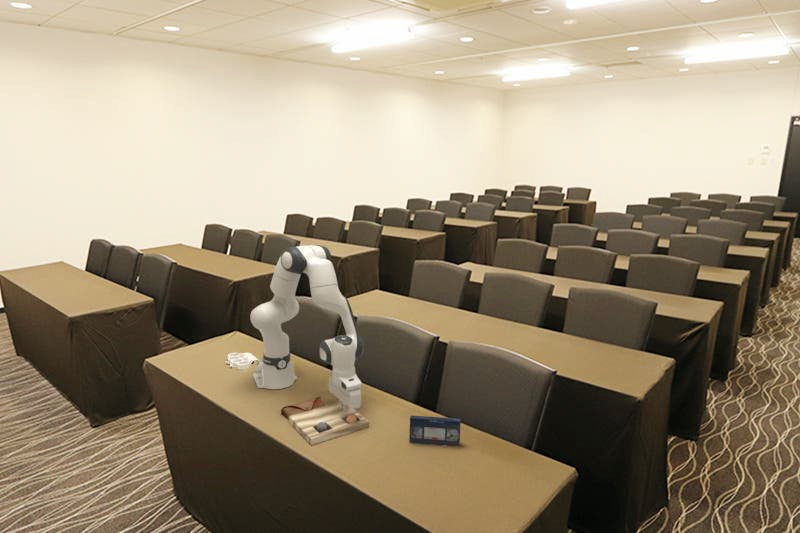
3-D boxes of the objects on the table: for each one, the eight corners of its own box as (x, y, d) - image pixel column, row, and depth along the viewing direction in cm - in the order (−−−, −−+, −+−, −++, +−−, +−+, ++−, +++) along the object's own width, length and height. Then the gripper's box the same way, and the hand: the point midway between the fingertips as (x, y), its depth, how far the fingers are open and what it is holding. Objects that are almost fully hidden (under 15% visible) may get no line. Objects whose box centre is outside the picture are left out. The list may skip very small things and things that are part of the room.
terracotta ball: (346, 427, 199) (343, 417, 200) (355, 424, 201) (352, 414, 202) (350, 426, 195) (347, 415, 197) (359, 423, 198) (356, 412, 199)
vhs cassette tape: (408, 443, 188) (409, 418, 186) (409, 438, 191) (410, 414, 189) (459, 447, 185) (460, 422, 183) (459, 443, 188) (461, 418, 186)
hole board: (288, 422, 201) (288, 416, 200) (343, 406, 214) (343, 400, 214) (311, 445, 185) (311, 439, 184) (368, 426, 198) (368, 420, 198)
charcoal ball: (318, 436, 191) (314, 429, 194) (328, 433, 194) (323, 426, 196) (320, 428, 189) (315, 421, 192) (329, 425, 192) (325, 418, 195)
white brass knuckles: (262, 366, 254) (233, 373, 245) (248, 355, 268) (220, 361, 259) (262, 360, 253) (233, 367, 245) (248, 349, 267) (220, 355, 258)
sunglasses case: (290, 422, 200) (285, 405, 202) (283, 424, 206) (279, 408, 207) (330, 409, 211) (326, 393, 212) (323, 412, 216) (319, 396, 218)
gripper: (324, 370, 207) (324, 402, 210) (349, 388, 191) (349, 423, 193) (338, 366, 211) (338, 398, 213) (364, 384, 194) (364, 418, 197)
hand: (344, 410), depth 203 cm, fingers closed
